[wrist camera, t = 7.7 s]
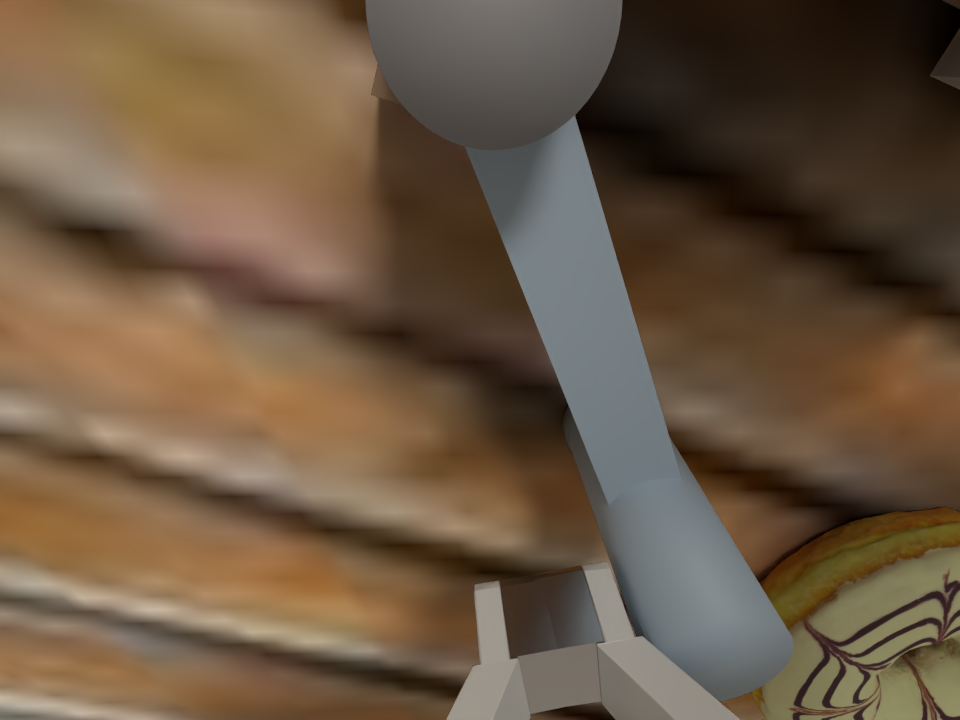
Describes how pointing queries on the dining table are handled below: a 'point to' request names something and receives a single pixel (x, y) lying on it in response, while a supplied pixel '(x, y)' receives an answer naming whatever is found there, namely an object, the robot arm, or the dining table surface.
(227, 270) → the dining table surface
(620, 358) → the lever handle with knob
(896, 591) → the decorated donut
